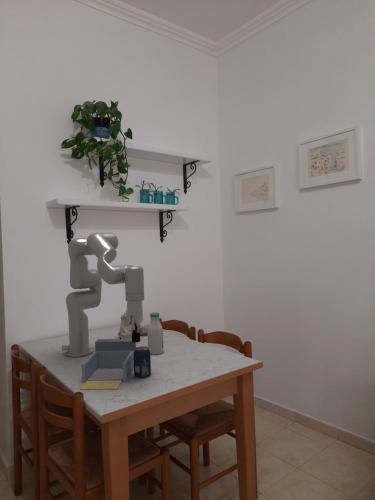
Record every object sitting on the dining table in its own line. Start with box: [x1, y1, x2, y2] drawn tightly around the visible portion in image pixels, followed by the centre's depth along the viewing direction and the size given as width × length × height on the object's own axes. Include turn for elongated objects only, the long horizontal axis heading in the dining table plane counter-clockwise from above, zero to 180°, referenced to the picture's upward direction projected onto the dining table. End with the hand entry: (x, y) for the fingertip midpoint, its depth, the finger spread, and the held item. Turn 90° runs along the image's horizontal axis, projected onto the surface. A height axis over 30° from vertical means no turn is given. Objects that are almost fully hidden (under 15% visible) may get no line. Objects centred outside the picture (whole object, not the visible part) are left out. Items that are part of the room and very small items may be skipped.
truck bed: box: [81, 338, 137, 383], centre depth 151 cm, size 17×22×12 cm
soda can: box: [133, 345, 152, 379], centre depth 146 cm, size 7×7×12 cm
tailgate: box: [79, 379, 123, 391], centre depth 137 cm, size 14×1×9 cm
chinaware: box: [117, 309, 149, 339], centre depth 208 cm, size 28×17×17 cm, turn 161°
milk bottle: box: [147, 311, 164, 356], centre depth 179 cm, size 8×8×20 cm
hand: (136, 341), depth 144 cm, fingers closed
